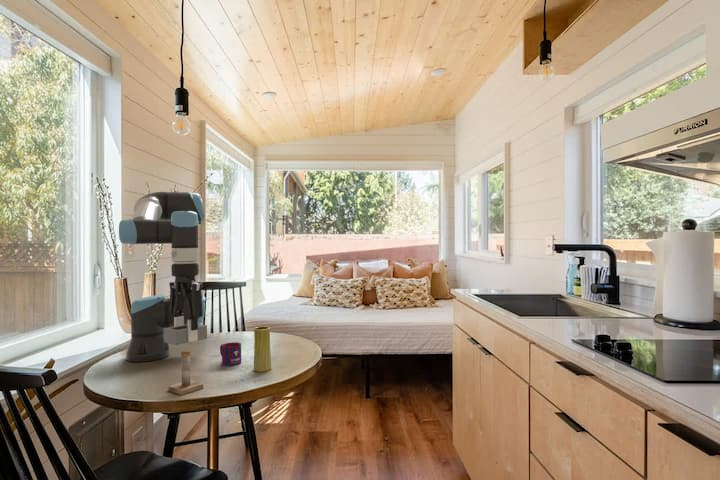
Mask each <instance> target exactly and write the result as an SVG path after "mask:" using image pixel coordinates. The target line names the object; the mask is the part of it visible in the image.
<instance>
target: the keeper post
mask: <svg viewBox="0 0 720 480" xmlns="http://www.w3.org/2000/svg"><path fill="white" fill-rule="evenodd" d="M180 357H181V359H180V360H181V381H180V382H178V383H175V384H171V385H168V391H170V392H172V393H175V394H178V395H180V396H183V395H186V394H189V393H192V392H195V391H198V390H201V389H204V383H201V382H199V381H197V380H196V381H195V380H192V379H191V351H190V350H185V351H181V352H180Z"/></svg>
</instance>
